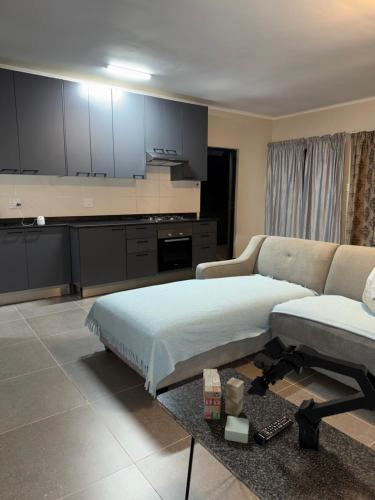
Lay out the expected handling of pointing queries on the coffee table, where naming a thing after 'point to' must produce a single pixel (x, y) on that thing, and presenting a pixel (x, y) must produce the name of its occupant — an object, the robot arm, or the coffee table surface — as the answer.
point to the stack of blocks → (211, 394)
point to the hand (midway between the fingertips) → (253, 387)
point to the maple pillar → (234, 397)
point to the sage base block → (237, 429)
